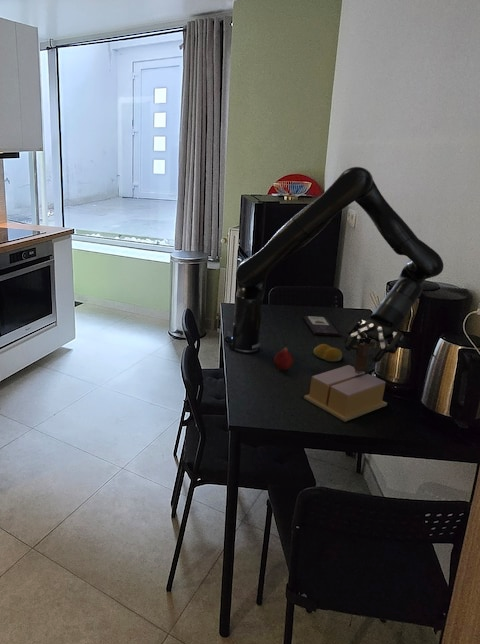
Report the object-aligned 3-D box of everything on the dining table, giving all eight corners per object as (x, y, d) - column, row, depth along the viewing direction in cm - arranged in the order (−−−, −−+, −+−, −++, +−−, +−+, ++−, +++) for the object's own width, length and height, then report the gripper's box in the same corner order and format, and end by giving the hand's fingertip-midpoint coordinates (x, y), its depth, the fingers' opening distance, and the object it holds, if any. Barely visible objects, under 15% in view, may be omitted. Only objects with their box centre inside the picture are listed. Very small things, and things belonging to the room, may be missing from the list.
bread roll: (335, 364, 162) (336, 353, 161) (310, 355, 169) (311, 345, 168) (346, 357, 167) (348, 347, 166) (321, 349, 174) (323, 339, 173)
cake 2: (362, 353, 172) (364, 340, 170) (340, 343, 181) (341, 330, 179) (383, 347, 176) (384, 333, 174) (360, 337, 184) (361, 324, 183)
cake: (344, 421, 129) (349, 397, 127) (303, 398, 141) (306, 375, 139) (387, 405, 138) (391, 382, 135) (344, 384, 149) (348, 362, 147)
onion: (282, 376, 154) (285, 353, 152) (269, 368, 159) (271, 346, 157) (295, 372, 157) (298, 349, 154) (282, 365, 162) (285, 343, 159)
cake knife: (354, 398, 140) (363, 346, 135) (349, 395, 141) (357, 343, 136) (361, 395, 141) (370, 344, 136) (356, 393, 143) (364, 341, 138)
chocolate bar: (315, 332, 186) (304, 316, 203) (314, 334, 187) (304, 318, 204) (339, 333, 185) (326, 317, 202) (339, 336, 186) (326, 319, 203)
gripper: (365, 296, 143) (333, 339, 141) (412, 311, 131) (378, 358, 129) (373, 310, 147) (343, 352, 145) (420, 325, 135) (387, 371, 133)
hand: (359, 355), depth 137 cm, fingers open, 8 cm apart
